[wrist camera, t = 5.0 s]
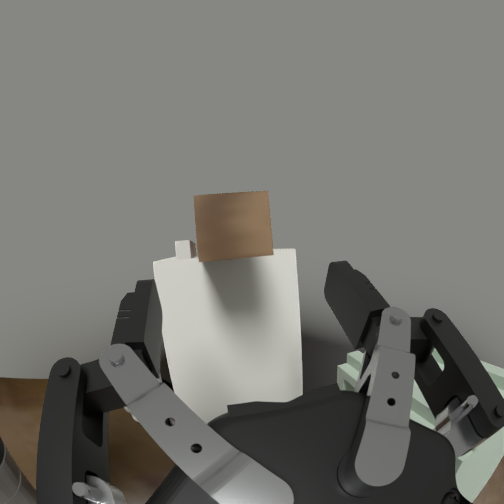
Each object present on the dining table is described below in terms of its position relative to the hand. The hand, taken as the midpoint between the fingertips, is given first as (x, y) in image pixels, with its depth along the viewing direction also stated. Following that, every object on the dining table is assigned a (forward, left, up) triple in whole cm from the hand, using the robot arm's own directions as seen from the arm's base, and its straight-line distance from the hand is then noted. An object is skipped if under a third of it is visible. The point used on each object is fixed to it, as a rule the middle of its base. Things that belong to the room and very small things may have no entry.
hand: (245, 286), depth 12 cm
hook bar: (0, +14, +1) cm, 14 cm away
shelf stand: (0, +17, -31) cm, 35 cm away
